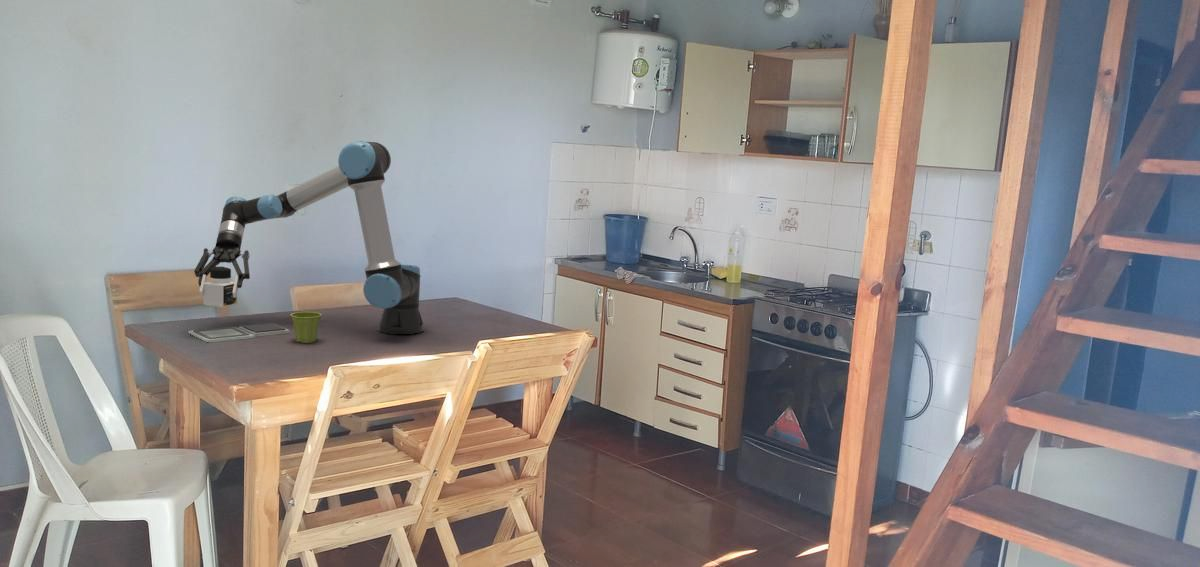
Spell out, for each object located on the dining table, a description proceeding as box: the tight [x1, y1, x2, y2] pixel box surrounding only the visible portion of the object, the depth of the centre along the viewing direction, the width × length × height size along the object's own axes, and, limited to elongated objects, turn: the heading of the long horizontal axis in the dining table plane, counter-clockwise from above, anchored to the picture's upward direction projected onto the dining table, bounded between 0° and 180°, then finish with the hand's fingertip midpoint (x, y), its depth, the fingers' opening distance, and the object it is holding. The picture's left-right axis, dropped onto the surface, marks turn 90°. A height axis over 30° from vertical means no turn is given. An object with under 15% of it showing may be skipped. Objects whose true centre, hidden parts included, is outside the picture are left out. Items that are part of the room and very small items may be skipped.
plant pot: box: [290, 311, 323, 344], centre depth 292 cm, size 9×9×9 cm
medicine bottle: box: [203, 265, 238, 308], centre depth 291 cm, size 7×7×12 cm
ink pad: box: [237, 322, 291, 338], centre depth 302 cm, size 12×12×1 cm
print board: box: [187, 326, 256, 343], centre depth 293 cm, size 15×15×1 cm
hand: (217, 294), depth 288 cm, fingers closed on medicine bottle, 9 cm apart
